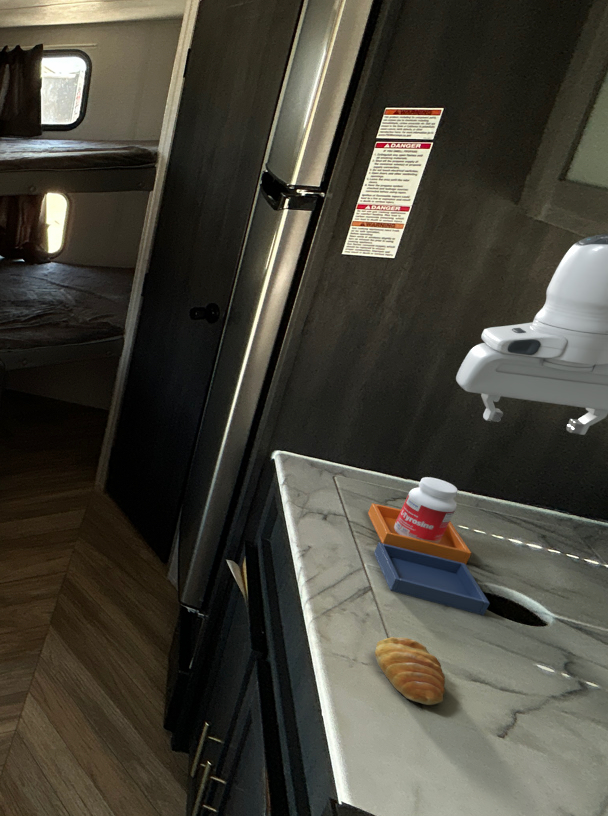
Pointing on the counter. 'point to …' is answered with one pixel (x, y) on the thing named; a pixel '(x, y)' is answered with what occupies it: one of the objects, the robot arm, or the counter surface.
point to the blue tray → (430, 578)
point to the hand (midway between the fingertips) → (531, 426)
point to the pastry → (411, 669)
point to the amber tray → (446, 548)
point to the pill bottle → (427, 510)
